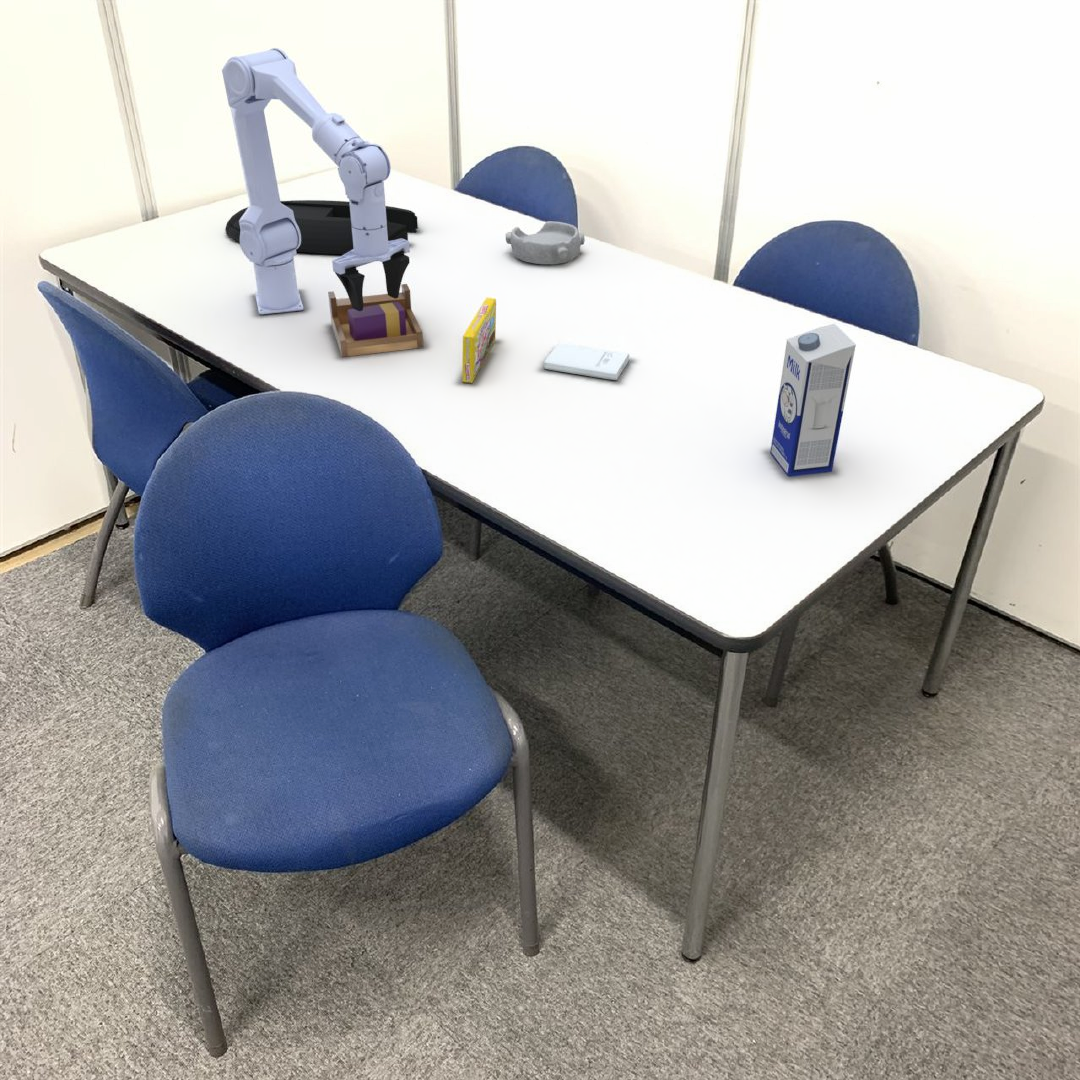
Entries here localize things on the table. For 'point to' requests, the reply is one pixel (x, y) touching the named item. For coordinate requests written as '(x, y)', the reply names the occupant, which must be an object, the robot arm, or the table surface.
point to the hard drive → (586, 361)
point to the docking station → (331, 225)
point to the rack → (379, 344)
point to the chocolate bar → (377, 321)
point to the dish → (547, 243)
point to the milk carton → (812, 400)
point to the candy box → (479, 339)
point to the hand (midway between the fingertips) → (375, 302)
